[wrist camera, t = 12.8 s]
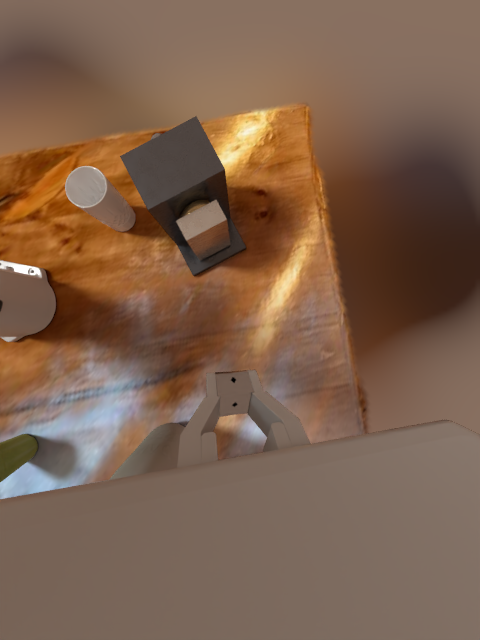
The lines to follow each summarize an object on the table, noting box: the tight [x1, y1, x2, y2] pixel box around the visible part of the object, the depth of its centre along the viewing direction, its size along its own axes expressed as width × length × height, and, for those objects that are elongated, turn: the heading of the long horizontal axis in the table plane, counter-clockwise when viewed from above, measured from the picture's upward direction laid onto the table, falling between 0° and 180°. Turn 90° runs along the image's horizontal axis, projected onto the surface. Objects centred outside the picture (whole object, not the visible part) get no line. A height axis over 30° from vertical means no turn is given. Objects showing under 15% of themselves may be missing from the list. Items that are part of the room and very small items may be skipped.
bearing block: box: [120, 117, 246, 276], centre depth 36 cm, size 19×14×14 cm
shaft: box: [151, 133, 231, 261], centre depth 36 cm, size 22×8×10 cm, turn 28°
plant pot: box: [0, 434, 38, 482], centre depth 38 cm, size 9×9×9 cm
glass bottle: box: [110, 423, 185, 480], centre depth 28 cm, size 10×10×28 cm
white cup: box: [65, 166, 136, 232], centre depth 38 cm, size 8×8×10 cm
